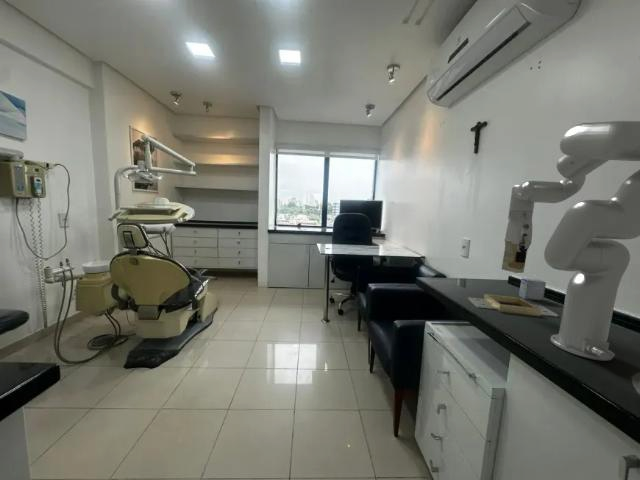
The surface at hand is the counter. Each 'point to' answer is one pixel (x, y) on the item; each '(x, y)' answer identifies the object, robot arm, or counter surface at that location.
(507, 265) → the skincare box
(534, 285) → the medicine box
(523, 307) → the wooden flat frame
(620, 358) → the counter surface
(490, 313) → the counter surface
